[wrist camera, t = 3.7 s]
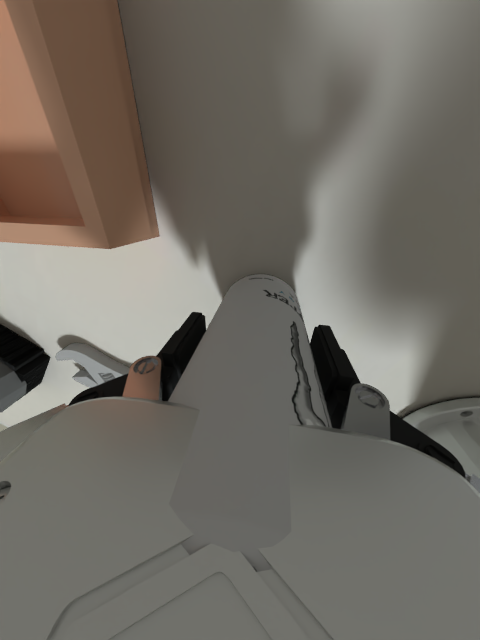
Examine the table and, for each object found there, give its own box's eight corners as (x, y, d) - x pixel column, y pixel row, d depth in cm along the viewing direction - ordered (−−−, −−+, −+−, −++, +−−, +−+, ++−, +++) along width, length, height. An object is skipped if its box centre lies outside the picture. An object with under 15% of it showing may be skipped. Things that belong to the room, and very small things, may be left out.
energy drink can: (308, 321, 16) (454, 788, 3) (246, 343, 18) (182, 669, 5) (279, 255, 13) (388, 1061, 1) (212, 290, 16) (-48, 645, 3)
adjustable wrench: (268, 398, 23) (268, 412, 21) (252, 425, 26) (250, 438, 25) (65, 335, 22) (50, 345, 20) (76, 371, 25) (64, 381, 24)
